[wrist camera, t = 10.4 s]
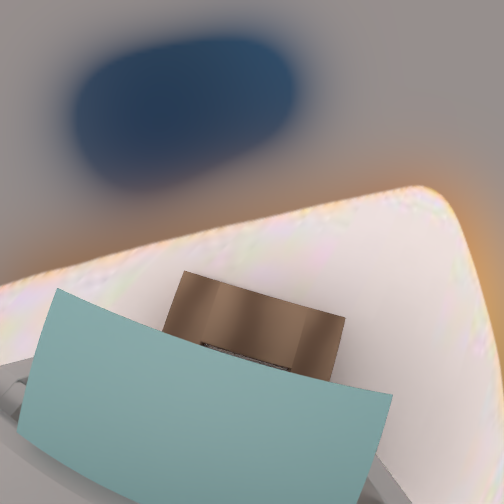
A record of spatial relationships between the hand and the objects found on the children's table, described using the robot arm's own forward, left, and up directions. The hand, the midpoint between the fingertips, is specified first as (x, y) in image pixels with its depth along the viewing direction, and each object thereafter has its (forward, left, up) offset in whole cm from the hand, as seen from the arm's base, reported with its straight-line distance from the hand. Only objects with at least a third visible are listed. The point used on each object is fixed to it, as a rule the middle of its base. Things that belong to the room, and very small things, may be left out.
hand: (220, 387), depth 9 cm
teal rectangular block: (0, +1, -6) cm, 6 cm away
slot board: (0, +1, -20) cm, 20 cm away
